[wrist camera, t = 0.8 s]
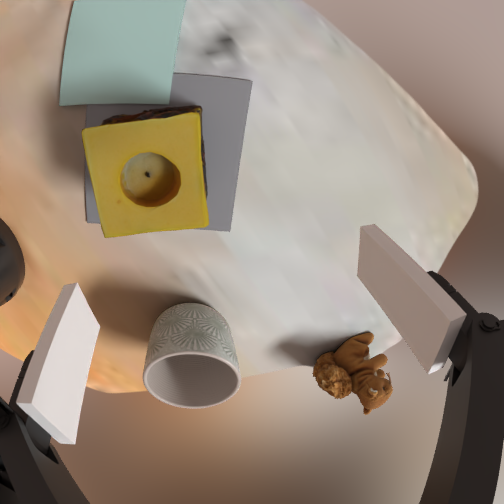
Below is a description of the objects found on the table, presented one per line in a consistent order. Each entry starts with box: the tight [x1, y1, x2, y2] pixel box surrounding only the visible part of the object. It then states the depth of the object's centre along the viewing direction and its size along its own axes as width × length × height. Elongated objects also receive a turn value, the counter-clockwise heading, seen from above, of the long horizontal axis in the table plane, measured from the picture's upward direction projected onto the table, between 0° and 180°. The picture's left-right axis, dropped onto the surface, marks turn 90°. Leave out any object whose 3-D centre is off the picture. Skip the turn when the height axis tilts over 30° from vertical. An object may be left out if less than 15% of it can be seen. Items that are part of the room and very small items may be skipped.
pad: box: [59, 0, 186, 106], centre depth 25 cm, size 13×13×1 cm
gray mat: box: [85, 73, 253, 232], centre depth 32 cm, size 18×18×1 cm
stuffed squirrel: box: [313, 332, 393, 415], centre depth 48 cm, size 10×14×13 cm
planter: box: [143, 303, 241, 408], centre depth 40 cm, size 12×12×11 cm
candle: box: [82, 105, 209, 238], centre depth 27 cm, size 10×10×10 cm
